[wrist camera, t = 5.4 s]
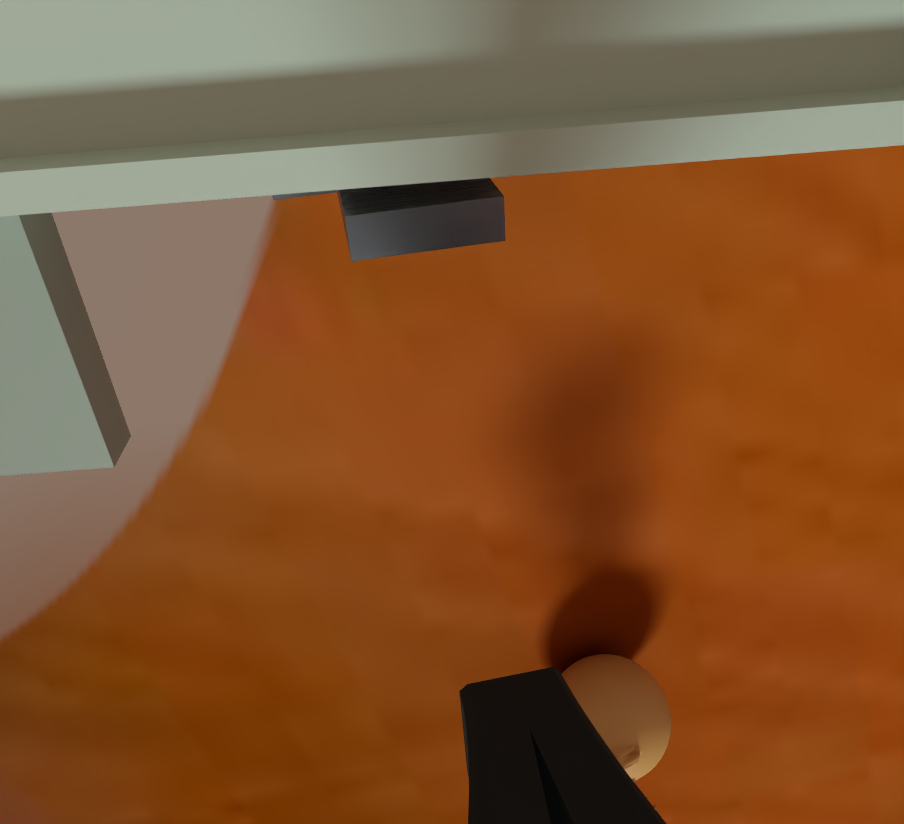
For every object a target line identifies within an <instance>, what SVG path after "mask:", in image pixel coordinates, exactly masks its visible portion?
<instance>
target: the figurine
mask: <svg viewBox="0 0 904 824" xmlns="http://www.w3.org/2000/svg"><path fill="white" fill-rule="evenodd" d="M562 676H563V678H564V679H565V681H566V683H567V685H568V686H569V688H570V690H571V691H572V693H573V695H574V696H575V698H576V699H577V701H578V703H579V704H580V706H581V707H582V709H583V710H584V712H585V714H586V715H587V717H588V718H589V720H590V721H591V723H592V724H593V726H594V727H595V729H596V730H597V732H598V733H599V734H600V736H601V737H602V739H603V740H604V742H605V743H606V744H607V746H608V747H609V749H610V750H611V752H612V753H613V754H614V756H615V757H616V759H617V760H618V761H619V763H620V764H621V765H622V767H623V768H624V770H625V771H626V772H627V774H628V775H629V776H630V778H631V779H632V780H633V781H634V783H635V781H636V780H637V779H639V778H641V777H642V776H644V775H645V774H647V773H648V772H649V771H651V770H652V769H653V768H654V767H655V766H656V764H657V763H658V762H659V761H660V759H661V758H662V756H663V754H664V752H665V750H666V748H667V745H668V742H669V738H670V732H671V716H670V710H669V705H668V702H667V699H666V697H665V694H664V692H663V690H662V689H661V687H660V685H659V684H658V682H657V681H656V680H655V678H654V677H653V676H652V675H651V674H650V673H649V672H648V671H647V670H646V669H644V668H643V667H642V666H640V665H639V664H637V663H636V662H634V661H632V660H630V659H627V658H625V657H621V656H617V655H611V654H598V655H592V656H588V657H585V658H583V659H580V660H578V661H577V662H575V663H573V664H572V665H571V666H569V667H568V668H567V669H566V670H565V671H564V672H563V673H562ZM647 800H648V801H649V798H648V797H647ZM649 802H650V801H649ZM653 807H654V809H655V810H656V808H657V806H656V804H655V805H654V806H653Z"/></svg>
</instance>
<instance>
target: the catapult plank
mask: <svg viewBox="0 0 904 824" xmlns="http://www.w3.org/2000/svg"><path fill="white" fill-rule="evenodd" d="M897 145H904V0H0V476H5V475H19V474H32V473H44V472H57V471H70V470H83V469H96V468H109V467H115V464H116V463H117V461H118V459H119V457H120V455H121V453H122V452H123V450H124V448H125V446H126V444H127V442H128V440H129V438H130V437H131V435H130V433H129V430H128V427H127V424H126V421H125V418H124V416H123V413H122V410H121V407H120V404H119V402H118V399H117V396H116V393H115V390H114V387H113V385H112V382H111V379H110V376H109V373H108V371H107V368H106V365H105V362H104V359H103V356H102V354H101V351H100V348H99V345H98V342H97V340H96V337H95V334H94V331H93V328H92V326H91V323H90V320H89V317H88V314H87V312H86V309H85V306H84V303H83V300H82V298H81V295H80V292H79V289H78V286H77V284H76V281H75V278H74V275H73V272H72V269H71V267H70V264H69V261H68V258H67V256H66V253H65V250H64V247H63V244H62V241H61V238H60V236H59V233H58V230H57V227H56V224H55V222H54V219H53V216H52V213H53V212H65V211H77V210H90V209H102V208H115V207H128V206H141V205H153V204H165V203H179V202H190V201H204V200H216V199H229V198H240V197H241V198H242V197H254V196H267V195H279V194H292V193H305V192H317V191H330V190H342V189H355V188H368V187H380V186H393V185H405V184H418V183H431V182H443V181H456V180H468V179H481V178H494V177H506V176H519V175H531V174H544V173H557V172H569V171H582V170H594V169H607V168H620V167H632V166H645V165H657V164H670V163H683V162H695V161H708V160H720V159H733V158H746V157H758V156H771V155H783V154H796V153H809V152H821V151H834V150H846V149H859V148H872V147H884V146H897Z"/></svg>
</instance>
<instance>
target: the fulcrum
mask: <svg viewBox="0 0 904 824" xmlns="http://www.w3.org/2000/svg"><path fill="white" fill-rule="evenodd" d="M334 192H337V194H338V198H339V203H340V208H341V213H342V218H343V223H344V228H345V232H346V237H347V242H348V247H349V252H350V257H351V261H357V260H365V259H372V258H379V257H387V256H394V255H402V254H409V253H417V252H424V251H432V250H439V249H446V248H454V247H461V246H469V245H476V244H484V243H491V242H499V241H505V216H504V196H503V195H502V193H501V192H500V191H499V189H498V188H497V187H496V186H495V184H494V183H493V182H492V181H491V179H490V178H481V179H468V180H456V181H443V182H431V183H418V184H405V185H393V186H380V187H368V188H355V189H342V190H330V191H317V192H305V193H292V194H279V195H273V200H277V199H285V198H294V197H302V196H310V195H318V194H326V193H334Z"/></svg>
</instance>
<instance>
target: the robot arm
mask: <svg viewBox="0 0 904 824" xmlns="http://www.w3.org/2000/svg"><path fill="white" fill-rule="evenodd" d="M460 701H461V711H462V721H463V731H464V742H465V752H466V762H467V771H468V776H469V814H468V824H666V823H665V821H664V820H663V819H662V818H661V816H660V815H659V814H658V812H657V811H656V810H655V809H654V807H653V806H652V805H651V803H650V802H649V801H648V800H647V798H646V797H645V796H644V794H643V793H642V792H641V791H640V789H639V788H638V787H637V785H636V784H635V783H634V781H633V780H632V779H631V778H630V776H629V775H628V774H627V772H626V771H625V770H624V768H623V767H622V765H621V764H620V763H619V761H618V760H617V759H616V757H615V756H614V754H613V753H612V752H611V750H610V749H609V747H608V746H607V744H606V743H605V742H604V740H603V739H602V737H601V736H600V734H599V733H598V732H597V730H596V729H595V727H594V726H593V724H592V723H591V721H590V720H589V718H588V717H587V715H586V714H585V712H584V710H583V709H582V707H581V706H580V704H579V703H578V701H577V699H576V698H575V696H574V695H573V693H572V691H571V690H570V688H569V686H568V685H567V683H566V681H565V679H564V678H563V676H562V674H561V672H560V671H558V670H557V669H555V668H553V667H551V668H546V669H541V670H536V671H531V672H526V673H521V674H516V675H511V676H506V677H501V678H496V679H491V680H486V681H481V682H476V683H471V684H467V685H466V686H465V687H464V688H463V689H462V690H460Z"/></svg>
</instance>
